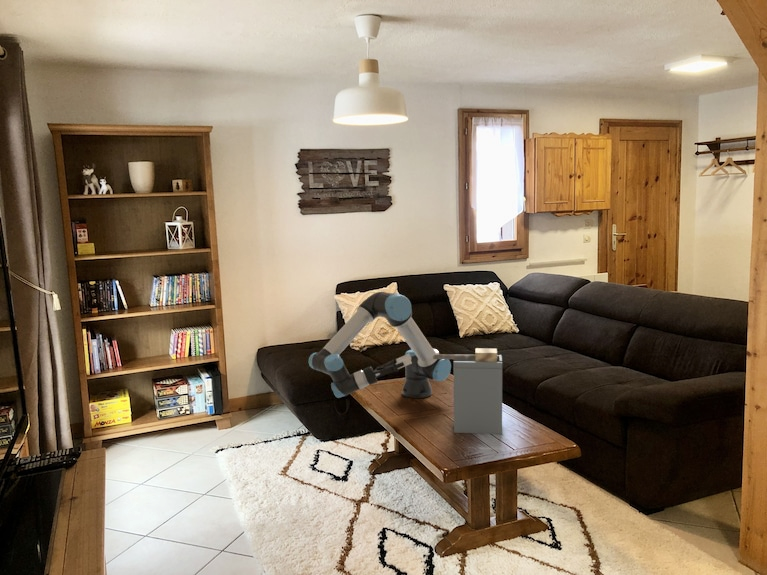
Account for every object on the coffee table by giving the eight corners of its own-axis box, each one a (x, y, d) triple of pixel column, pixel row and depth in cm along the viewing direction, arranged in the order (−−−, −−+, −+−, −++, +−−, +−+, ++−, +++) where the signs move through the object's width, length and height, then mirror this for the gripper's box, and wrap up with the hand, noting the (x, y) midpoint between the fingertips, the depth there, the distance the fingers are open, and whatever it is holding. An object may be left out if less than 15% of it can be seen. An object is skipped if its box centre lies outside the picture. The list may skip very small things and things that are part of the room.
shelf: (453, 432, 261) (453, 361, 257) (455, 420, 275) (454, 353, 270) (502, 434, 258) (502, 362, 253) (500, 422, 271) (501, 353, 267)
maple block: (432, 365, 261) (432, 352, 261) (433, 361, 269) (433, 347, 268) (497, 367, 257) (497, 353, 256) (496, 362, 265) (496, 348, 264)
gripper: (370, 380, 282) (413, 362, 282) (367, 390, 258) (414, 370, 257) (364, 365, 282) (406, 347, 282) (360, 373, 257) (407, 353, 257)
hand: (410, 358), depth 269 cm, fingers open, 13 cm apart
